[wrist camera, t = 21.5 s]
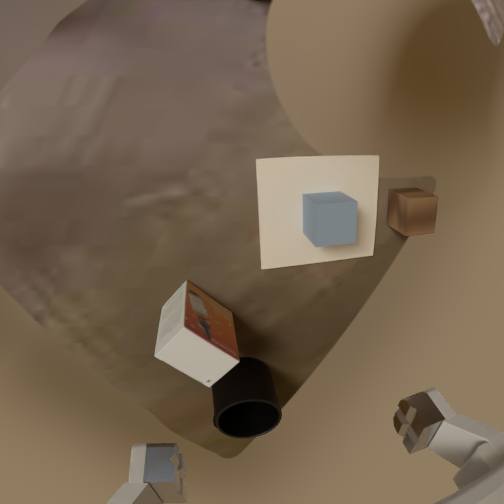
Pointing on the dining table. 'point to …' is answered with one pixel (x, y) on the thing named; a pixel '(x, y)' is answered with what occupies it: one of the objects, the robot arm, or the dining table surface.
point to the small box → (197, 335)
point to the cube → (329, 218)
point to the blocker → (411, 211)
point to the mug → (246, 400)
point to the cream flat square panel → (291, 205)
